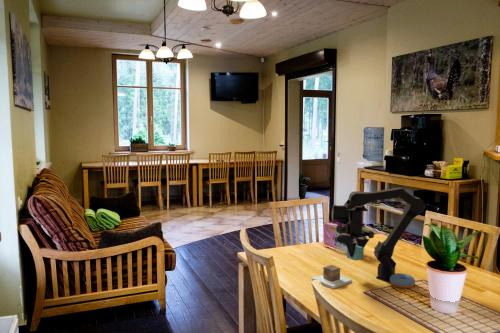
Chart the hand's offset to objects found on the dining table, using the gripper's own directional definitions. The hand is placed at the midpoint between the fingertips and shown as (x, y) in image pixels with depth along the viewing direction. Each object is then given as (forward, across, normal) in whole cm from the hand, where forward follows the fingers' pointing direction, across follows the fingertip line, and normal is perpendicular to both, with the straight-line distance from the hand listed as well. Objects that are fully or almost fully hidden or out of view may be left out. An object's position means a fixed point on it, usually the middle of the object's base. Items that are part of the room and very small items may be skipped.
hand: (355, 255), depth 175 cm
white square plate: (+10, +11, -4) cm, 15 cm away
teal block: (+1, 0, 0) cm, 1 cm away
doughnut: (+10, -9, +17) cm, 22 cm away
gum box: (+10, -29, -31) cm, 43 cm away
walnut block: (+9, +11, -4) cm, 15 cm away
